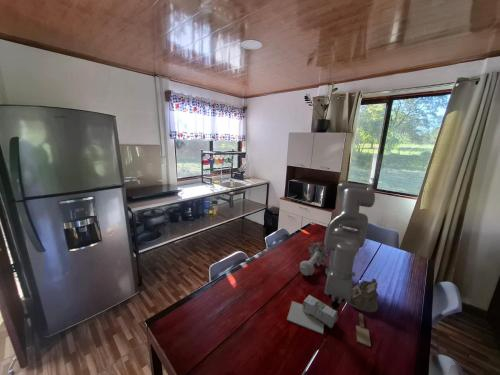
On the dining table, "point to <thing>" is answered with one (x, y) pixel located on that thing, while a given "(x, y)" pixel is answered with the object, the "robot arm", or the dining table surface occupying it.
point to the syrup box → (320, 311)
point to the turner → (362, 332)
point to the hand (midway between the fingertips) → (334, 307)
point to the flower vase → (313, 259)
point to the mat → (304, 318)
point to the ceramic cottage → (364, 296)
